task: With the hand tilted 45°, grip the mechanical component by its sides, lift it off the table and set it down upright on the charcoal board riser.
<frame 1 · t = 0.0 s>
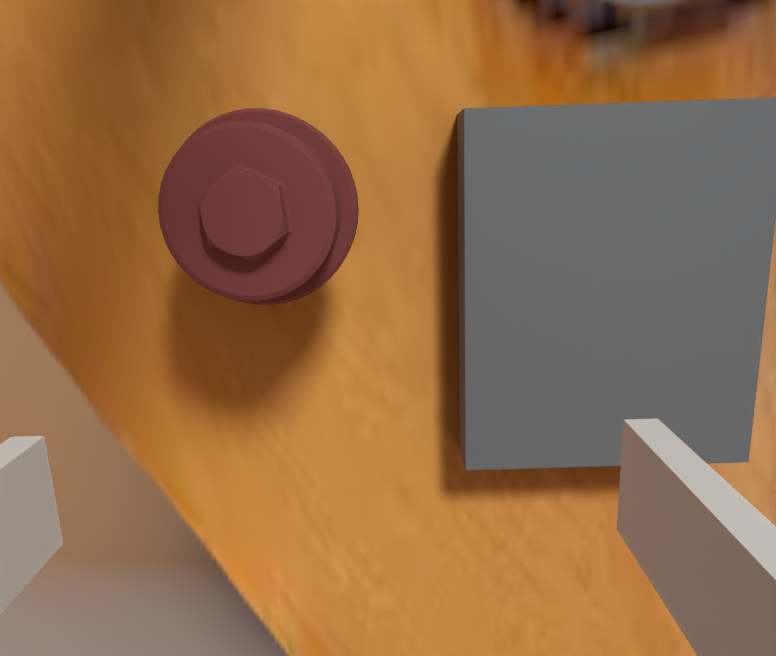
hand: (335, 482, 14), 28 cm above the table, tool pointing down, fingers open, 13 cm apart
riser: (594, 285, 42), on the table
mechanical component: (286, 203, 41), on the table
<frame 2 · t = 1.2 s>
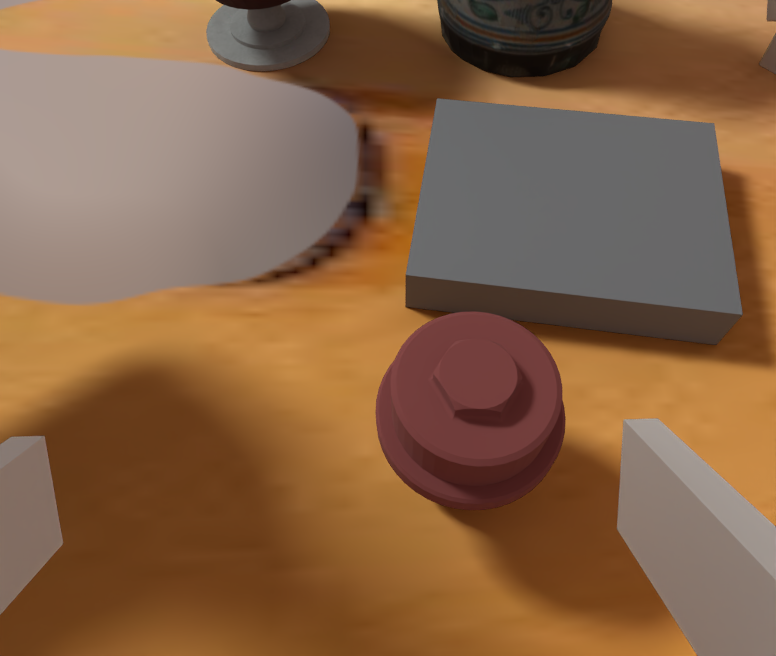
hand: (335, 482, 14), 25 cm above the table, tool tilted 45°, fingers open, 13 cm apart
riser: (559, 228, 50), on the table
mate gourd: (263, 30, 64), on the table
lighter: (767, 65, 60), on the table
beer stein: (504, 25, 64), on the table
mechanical component: (458, 460, 40), on the table
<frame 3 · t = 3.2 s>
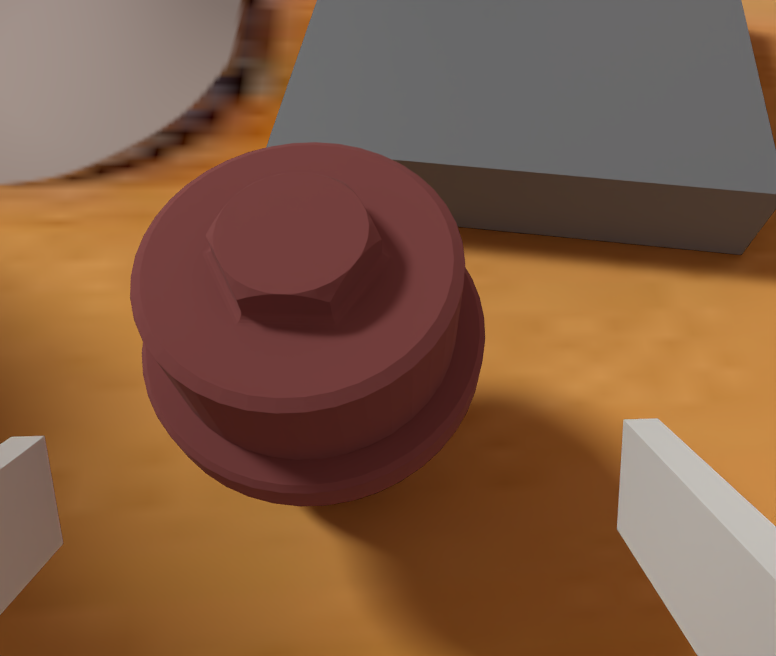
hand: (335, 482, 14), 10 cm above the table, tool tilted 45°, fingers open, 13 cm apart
riser: (512, 105, 35), on the table
mechanical component: (339, 429, 26), on the table
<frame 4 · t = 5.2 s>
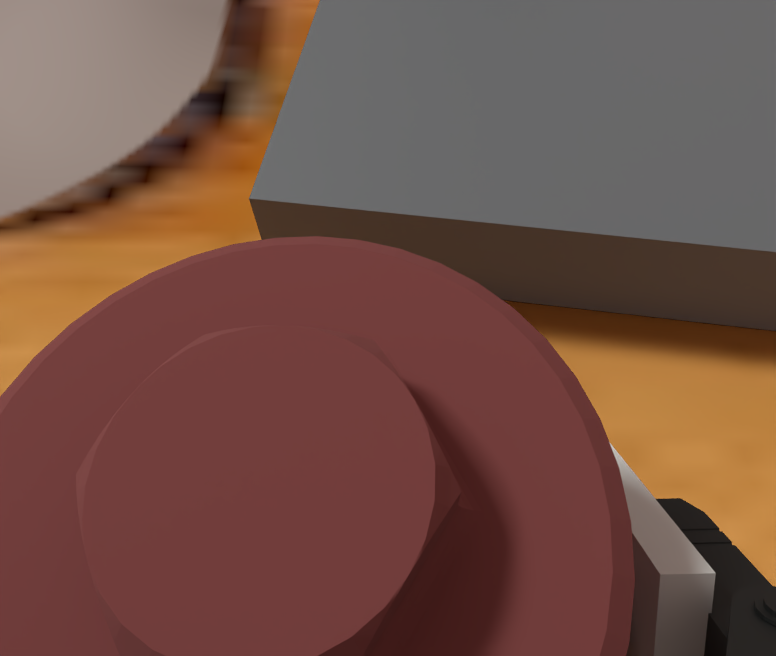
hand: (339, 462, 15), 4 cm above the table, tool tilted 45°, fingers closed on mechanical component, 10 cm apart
riser: (576, 131, 27), on the table
mechanical component: (350, 620, 17), on the table, touching gripper
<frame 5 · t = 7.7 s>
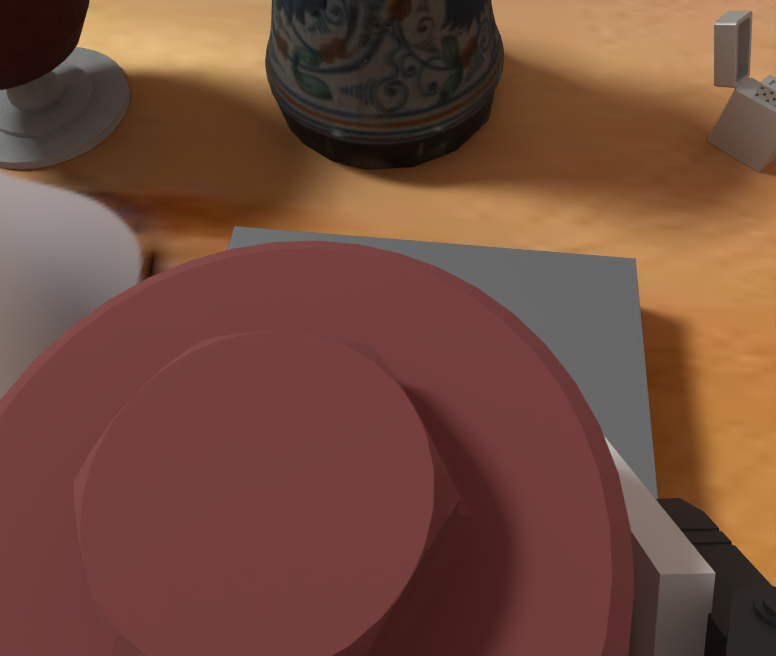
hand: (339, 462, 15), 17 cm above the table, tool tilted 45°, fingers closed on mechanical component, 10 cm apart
riser: (412, 422, 34), on the table
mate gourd: (40, 105, 47), on the table
lighter: (719, 141, 44), on the table
beer stein: (367, 89, 47), on the table
mechanical component: (350, 623, 17), point 13 cm above the table, touching gripper
when the fingers open (9 cm above the table, at t = 10.3 s): mechanical component drops 1 cm, resting on riser.
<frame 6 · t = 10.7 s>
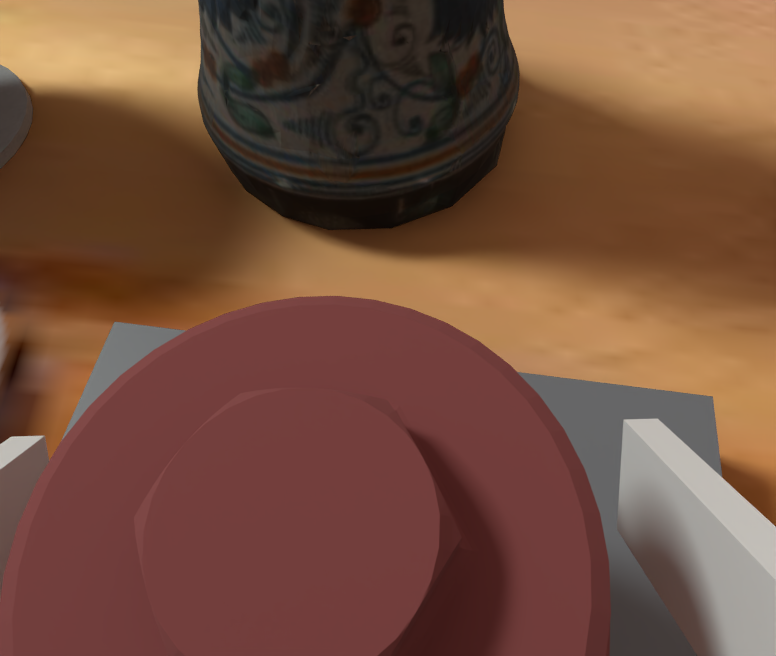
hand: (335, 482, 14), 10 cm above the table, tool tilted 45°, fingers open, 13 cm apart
riser: (362, 638, 22), on the table
beer stein: (338, 119, 36), on the table
mechanical component: (360, 631, 18), point 4 cm above the table, touching riser
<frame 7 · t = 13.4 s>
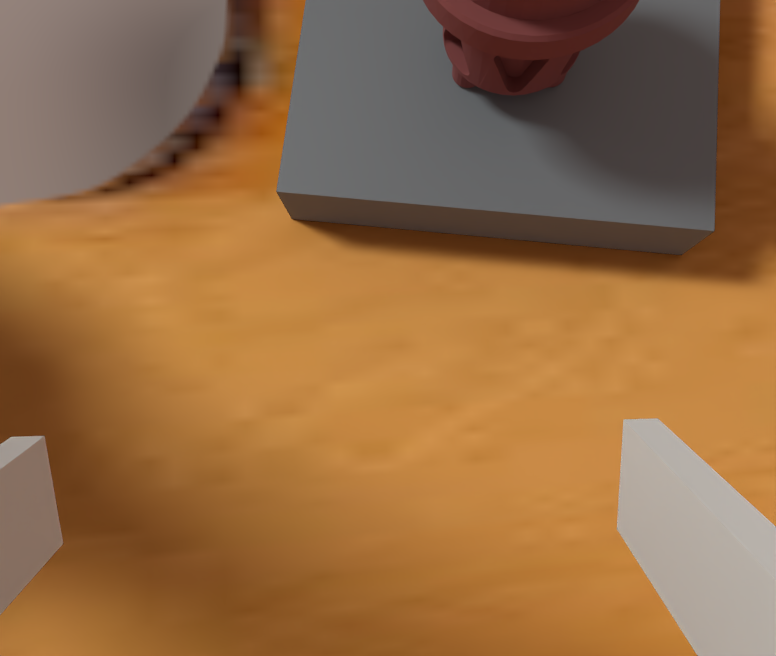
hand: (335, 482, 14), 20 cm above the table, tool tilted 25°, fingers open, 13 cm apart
riser: (495, 91, 37), on the table
mechanical component: (507, 54, 34), point 4 cm above the table, touching riser
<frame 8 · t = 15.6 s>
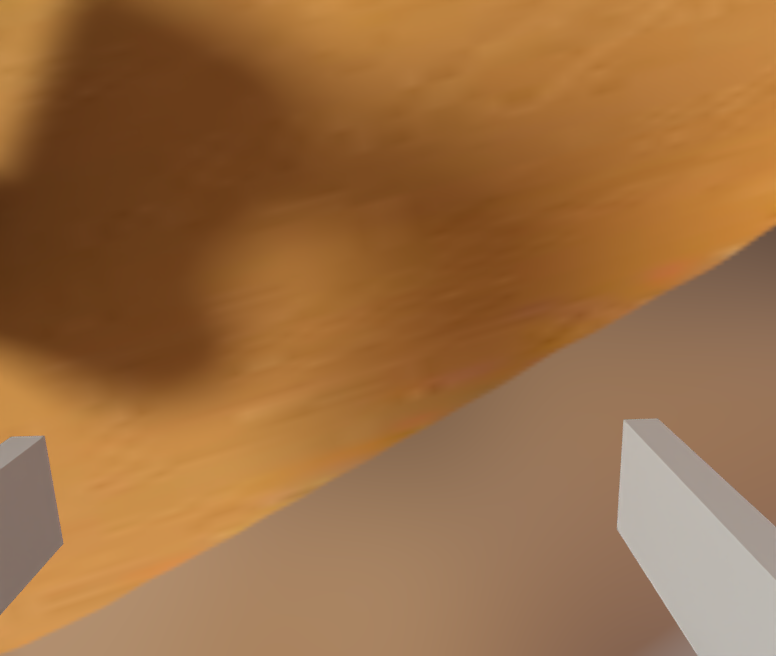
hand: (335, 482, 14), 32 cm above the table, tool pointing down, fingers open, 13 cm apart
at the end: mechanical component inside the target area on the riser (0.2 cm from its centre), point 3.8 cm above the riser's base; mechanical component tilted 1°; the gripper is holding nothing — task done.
